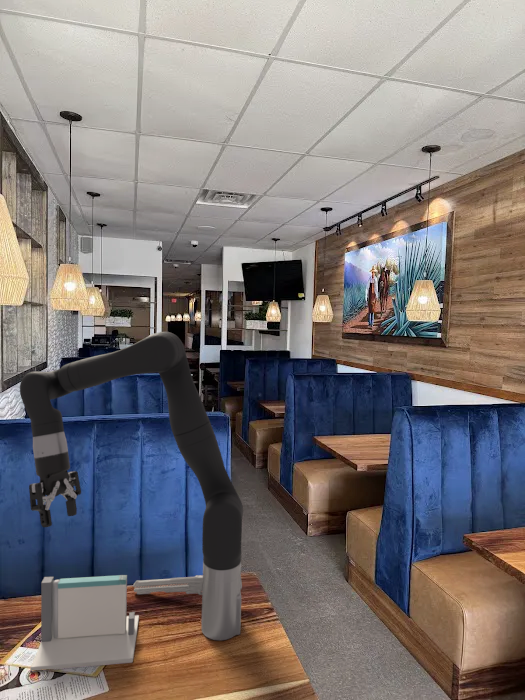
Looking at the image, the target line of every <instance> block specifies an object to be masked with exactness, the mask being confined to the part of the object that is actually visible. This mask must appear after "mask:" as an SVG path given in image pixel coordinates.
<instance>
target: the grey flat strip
mask: <svg viewBox="0 0 525 700" xmlns="http://www.w3.org/2000/svg"><path fill="white" fill-rule="evenodd" d="M132 585H133V588H134V589H133V592H134V593H136V595H149V594H151V593H158V592H159V593H161V592H164V593H167V594H169V593H182V592H183V593H184V592H185V594H186V595H192V594H195V595H199V596H200V595H201V596H202V588H203V574H202V575H201V574H200V575H197V574H196V575H195V576H187V577H186V576H185V577H184V576H182V577H181V576H180V577H171V578H163V579H162V578H161V579H158V578H157V579H146V580H139V579H137V580H135V582H134V583H133V584H132ZM242 589H243V583H242V579H241V580H240V591H241V590H242Z"/></svg>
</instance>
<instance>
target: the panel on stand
mask: <svg viewBox="0 0 525 700" xmlns="http://www.w3.org/2000/svg"><path fill="white" fill-rule="evenodd" d="M54 581H55V580H54V576H44V577H43V579H42V581H41V583H40V584H41V585H40V586H41V590H40V591H41V593H40V595H41V596H40V597H41V600H40V601H41V603H40V604H41V612H40V613H41V617H40V618H41V621H40V623H41V624H40V625H41V627H40V628H41V629H40V631H41V633H40V635H41V637H40V639H41V640H40V641H41V642H40V644H39V647H38V649H37V651H36V653H35V656H34V658H33V659H32V663H31V665H30V668H29V669H30V670H31V671H32V670H41V669H54V670H63V669H64V668H65V669H74V668H86V666H87V667H88V668H89V667H98V666H108V665H116V664H117V665H118V664H119V665H120V664H132V663H133V661H134V656H135V649H136V641H137V634H138V628H139V627H138V625H139V620H140V615H139V614H135V613H136V612H135V611H132V612H129V613H128V614H129V615H126V632H125V634H106V635H93V636H80V637H68V638H54V637H53V582H54ZM61 668H62V669H61ZM30 670H29V671H30ZM31 671H30V672H31ZM32 672H33V671H32Z"/></svg>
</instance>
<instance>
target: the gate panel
mask: <svg viewBox="0 0 525 700" xmlns="http://www.w3.org/2000/svg"><path fill="white" fill-rule="evenodd" d="M127 590H128V575H127V574H118V575H105V576H104V575H101V576H85V577H71V578H70V577H67V578H66V577H65V578H59V579H55V580H54V582H53V637H54V638H68V637H80V636H93V635H106V634H125V632H126V616H127V608H128V607H127V599H128V597H127V596H128V595H127V593H128V592H127Z"/></svg>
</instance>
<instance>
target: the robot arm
mask: <svg viewBox="0 0 525 700" xmlns="http://www.w3.org/2000/svg"><path fill="white" fill-rule="evenodd" d="M154 373H158V375H159V376H160V379H161V380H162V383H163V386H164V389H165V393H166V397H167V408H168V417H169V424H170V428H171V432H172V435H173V437H174V441H175V443H176V445H177V448H178V451H179V452H180V455H181V456H182V457H183V459H184V461H185V462H186V464H187V465H188V467H189V468H190V469H191V471H192V473H193V474H194V475H195V476H196V479H197V480H198V483H199V486H200V489H201V492H202V495H203V499H204V502H205V504H204V505H205V509H204V513H203V517H202V542H201V543H202V547H201V548H202V556H203V558H202V575H203V588H202V591H201V592H202V595H201V597H202V598H201V620H200V621H201V632H202V634H203V635H204V636H205V637H206V638H207V639H210V640H212V641H213V640H214V641H227V640H229V639H231V638H233V637H235V636H237V635H241V628H242V627H241V626H242V625H241V622H242V619H241V618H242V594H241V590H240V580H241V581H242V575H241V574H242V571H241V570H242V539H243V538H242V534H243V533H242V531H243V513H244V508H243V507H244V506H243V503H242V500H241V498H240V496H239V494H238V492H237V490H236V488H235V487H234V485H233V482H232V480H231V479H230V476H229V474H228V472H227V469H226V468H225V464H224V461H223V459H224V458H223V456H222V452H221V450H220V447H219V444H218V441H217V438H216V434H215V431H214V429H213V428H214V427H213V426H212V423H211V421H210V418H209V415H208V413H207V411H206V409H205V406H204V404H203V401H202V398H201V397H200V396H201V395H200V393H199V392H198V389H197V387H196V384H195V382H194V378H193V375H192V373H191V369H190V365H189V361H188V357H187V353H186V349H185V346H184V343H183V342H182V340H181V339H180V338H179V336H178V335H176V334H174V333H172V332H169V331H160V332H157V333H152V334H150V335H148V336H147V337H145V338H143V339H141V340H139V341H138V342H135V343H133V344H130V345H129V346H127V347H124V348H122V349H120V350H119V349H118V350H116V351H113V352H108V353H104V354H99V355H95V356H91V357H86V358H83V359H80V360H76V361H72V362H69V363H66V364H64V365H62V366H61V367H60V368H59V369H56V370H52V371H30V372H28V373H26V374H25V375H24V376H23V377H22V379H21V380H20V383H19V384H20V385H19V393H20V397H21V400H22V403H23V406H24V409H25V411H26V413H27V415H28V418H29V420H30V425H31V426H30V427H31V433H32V451H33V458H34V468H35V472H36V473H35V474H36V476H38V477H39V482H36V483H30V484H29V486H28V492H29V502H30V511H36V512H38V513H39V519H40V520H39V521H40V525H41V527H42V528H49V527H52V525H53V522H52V516H51V515H52V514H51V509H50V507H51V504H52V502H53V501H54V500H55V498H56V497H58V496H59V495H61V496H63V498H64V499H65V500H66V501H65V506H66V513H67V517H74V516H76V515H77V513H78V510H77V509H78V508H77V507H78V506H77V501H76V499H77V497H78V496H80V495H81V494H82V488H81V484H80V479H79V474H78V473H79V472H78V471H76V470H73V471H70V469H71V464H70V462H71V461H70V455H69V450H68V449H69V448H68V442H67V441H68V440H67V438H66V434H65V430H64V429H65V428H64V421H63V415H62V412H61V411H60V410H59V409H57V408H54V407H53V404H52V402H51V401H52V400H55V399H58V398H61V397H64V396H67V395H69V394H71V393H73V392H78V391H83V390H86V389H90V388H93V387H97V386H100V385H102V384H105V383H108V382H111V381H113V380H117V379H121V378H124V377H129V376H134V375H143V374H144V375H145V374H154ZM68 471H69V472H68Z"/></svg>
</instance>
